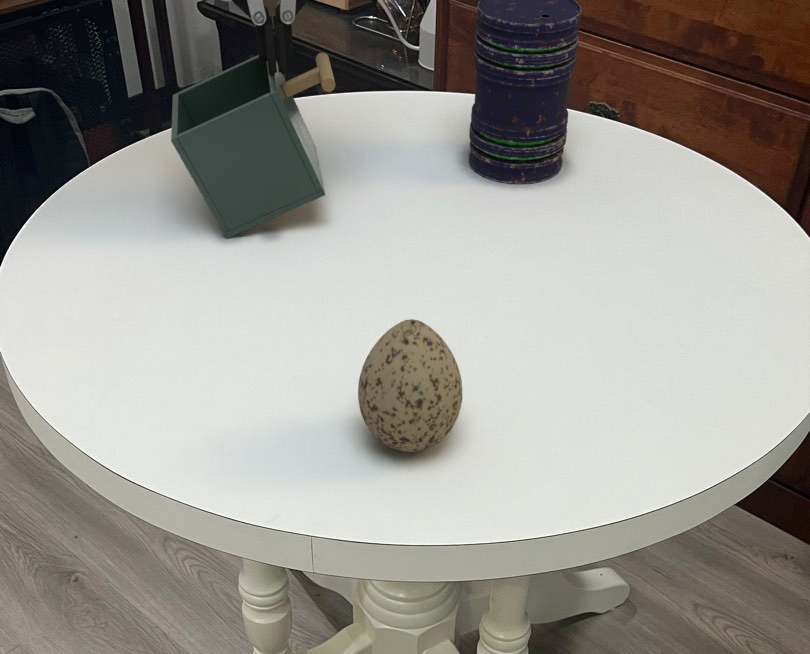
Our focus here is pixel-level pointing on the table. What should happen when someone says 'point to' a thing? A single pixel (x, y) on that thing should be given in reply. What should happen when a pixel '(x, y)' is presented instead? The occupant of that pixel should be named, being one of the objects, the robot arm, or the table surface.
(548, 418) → the table surface
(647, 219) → the table surface
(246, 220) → the green box with handle
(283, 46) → the robot arm
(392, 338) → the decorative egg
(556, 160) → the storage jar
